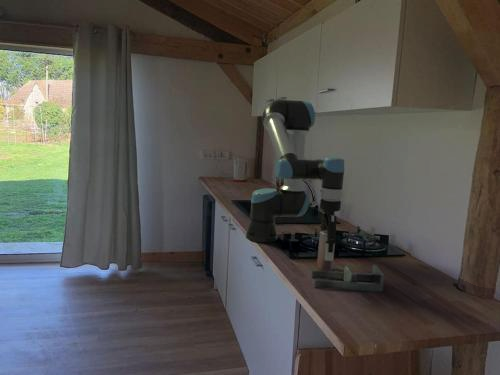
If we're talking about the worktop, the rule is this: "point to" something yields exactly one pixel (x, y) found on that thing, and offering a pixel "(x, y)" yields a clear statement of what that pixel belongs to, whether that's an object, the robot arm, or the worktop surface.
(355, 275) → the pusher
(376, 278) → the lane
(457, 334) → the worktop surface
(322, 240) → the beverage can
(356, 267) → the worktop surface
